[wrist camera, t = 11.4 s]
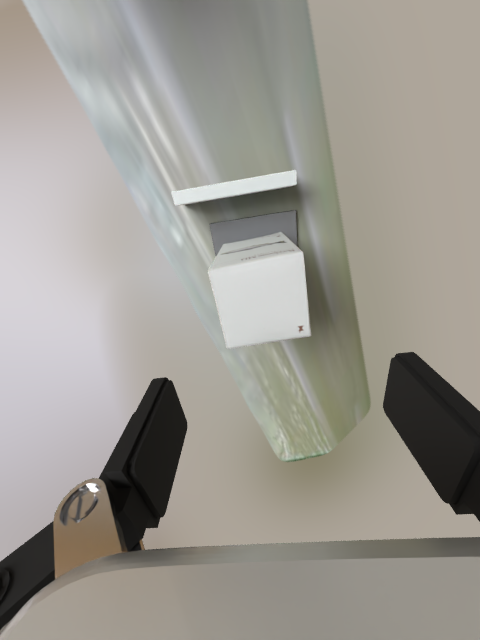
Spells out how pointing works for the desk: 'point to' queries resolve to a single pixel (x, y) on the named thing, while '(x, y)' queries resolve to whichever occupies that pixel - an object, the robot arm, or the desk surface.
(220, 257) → the supplement box
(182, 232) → the desk surface
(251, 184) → the frosted wall
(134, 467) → the robot arm
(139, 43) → the desk surface
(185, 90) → the desk surface
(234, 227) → the charcoal mat
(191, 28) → the desk surface
